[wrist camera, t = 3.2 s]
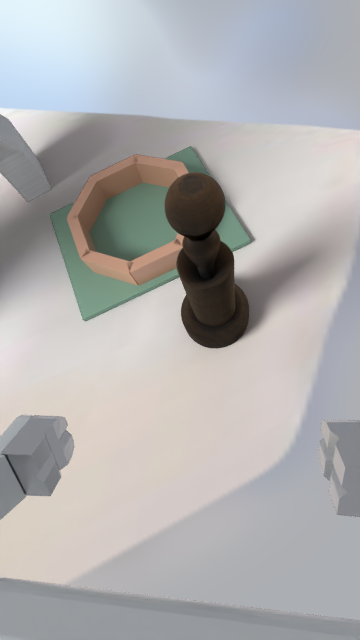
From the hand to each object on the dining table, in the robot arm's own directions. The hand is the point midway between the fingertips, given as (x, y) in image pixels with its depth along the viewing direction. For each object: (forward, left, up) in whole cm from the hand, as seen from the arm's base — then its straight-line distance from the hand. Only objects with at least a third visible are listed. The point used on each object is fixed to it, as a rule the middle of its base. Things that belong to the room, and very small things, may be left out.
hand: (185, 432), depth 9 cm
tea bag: (-10, +40, -19) cm, 45 cm away
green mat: (+1, +24, -19) cm, 30 cm away
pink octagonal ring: (+1, +24, -19) cm, 30 cm away
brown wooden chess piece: (+4, +10, -19) cm, 22 cm away
